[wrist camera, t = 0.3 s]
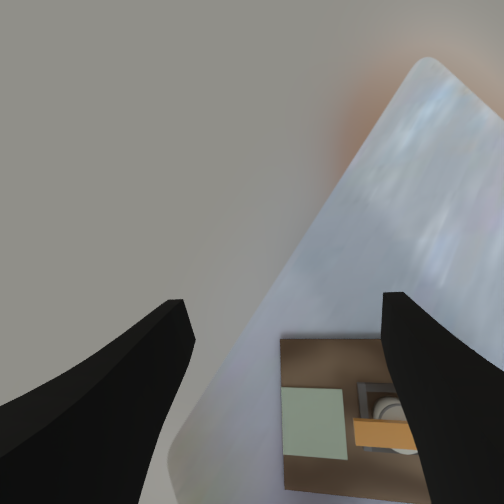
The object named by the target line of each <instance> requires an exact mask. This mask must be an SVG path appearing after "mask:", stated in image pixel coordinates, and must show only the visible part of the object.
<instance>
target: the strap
mask: <svg viewBox="0 0 504 504" xmlns="http://www.w3.org/2000/svg"><path fill="white" fill-rule="evenodd" d="M353 426H354V438H355V444H356V446H367V447H381V448H394V449H408V450H417V448H416V445H415V442H414V439H413V436H412V433H411V430H410V428H409V425H408V422H407V421H401V420H383V419H364V418H353Z"/></svg>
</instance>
